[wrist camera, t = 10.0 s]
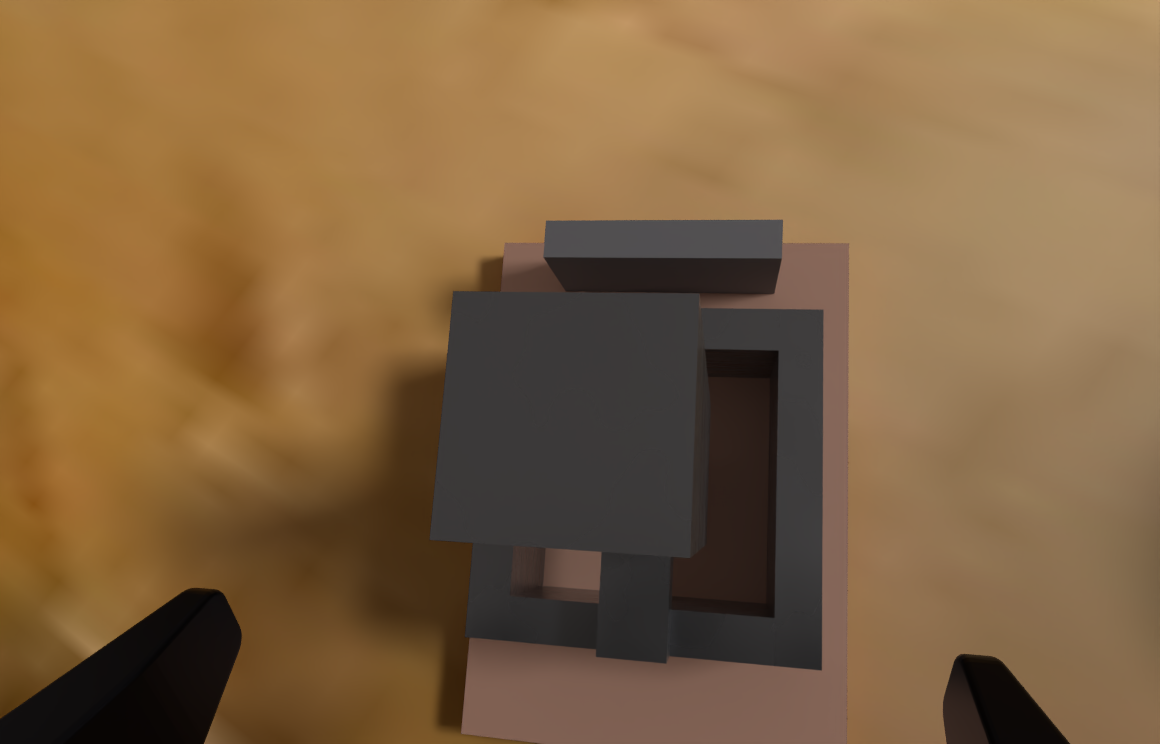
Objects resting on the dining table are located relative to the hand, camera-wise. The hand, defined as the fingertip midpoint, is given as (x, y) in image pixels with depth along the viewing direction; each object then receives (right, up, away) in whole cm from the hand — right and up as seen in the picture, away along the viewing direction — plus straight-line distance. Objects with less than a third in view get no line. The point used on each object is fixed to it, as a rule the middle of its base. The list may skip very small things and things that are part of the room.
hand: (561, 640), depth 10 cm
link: (+2, 0, +12) cm, 12 cm away
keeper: (+3, 0, +13) cm, 13 cm away
